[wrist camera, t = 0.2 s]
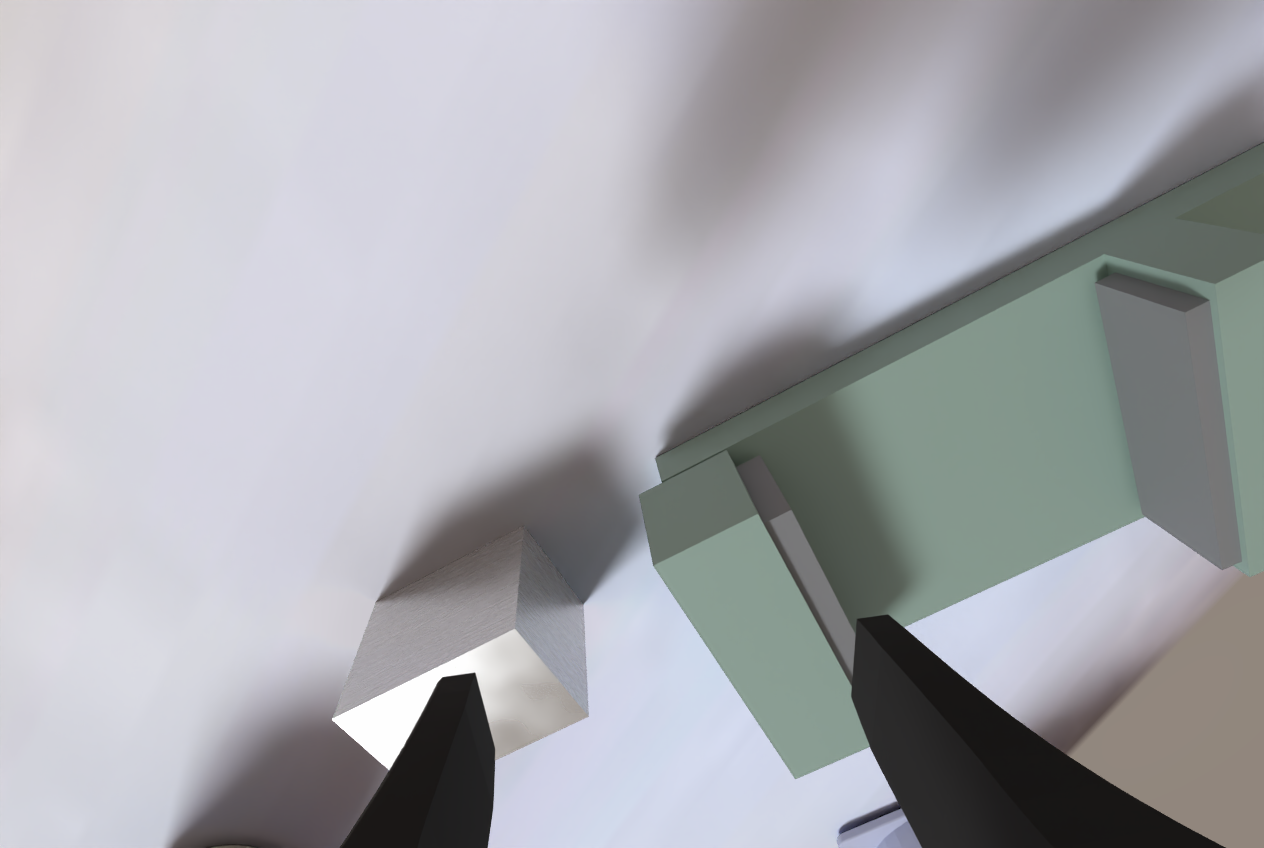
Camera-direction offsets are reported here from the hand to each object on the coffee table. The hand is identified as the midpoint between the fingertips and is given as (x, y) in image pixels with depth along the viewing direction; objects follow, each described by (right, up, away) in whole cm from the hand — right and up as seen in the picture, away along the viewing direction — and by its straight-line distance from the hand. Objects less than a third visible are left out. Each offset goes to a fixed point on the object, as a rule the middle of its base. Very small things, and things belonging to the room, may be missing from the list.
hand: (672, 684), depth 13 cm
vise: (+11, +5, +10) cm, 16 cm away
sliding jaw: (+4, 0, +10) cm, 10 cm away
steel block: (-6, -1, +11) cm, 13 cm away
